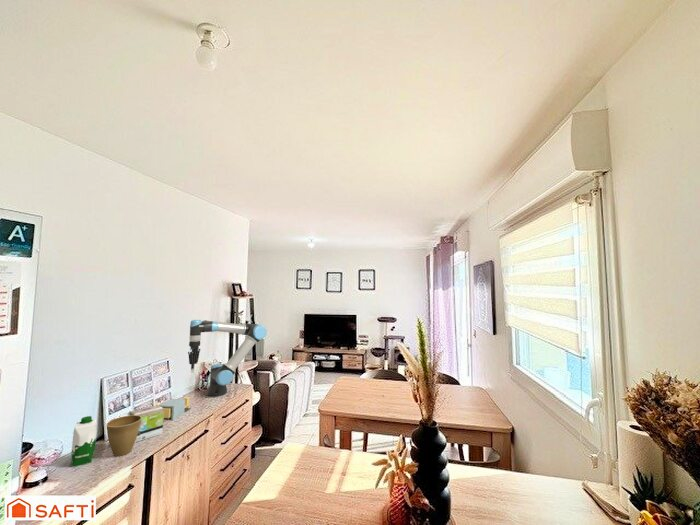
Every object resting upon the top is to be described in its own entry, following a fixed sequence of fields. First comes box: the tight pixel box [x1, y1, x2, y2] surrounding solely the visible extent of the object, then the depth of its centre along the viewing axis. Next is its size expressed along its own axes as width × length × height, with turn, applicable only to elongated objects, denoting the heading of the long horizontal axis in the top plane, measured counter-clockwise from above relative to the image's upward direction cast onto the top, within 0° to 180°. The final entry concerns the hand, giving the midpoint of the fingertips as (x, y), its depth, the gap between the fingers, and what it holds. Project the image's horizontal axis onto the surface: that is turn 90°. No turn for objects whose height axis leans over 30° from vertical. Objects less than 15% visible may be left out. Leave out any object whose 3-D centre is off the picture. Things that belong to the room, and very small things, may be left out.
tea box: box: [128, 404, 165, 443], centre depth 179 cm, size 15×10×15 cm, turn 143°
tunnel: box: [158, 398, 192, 423], centre depth 208 cm, size 33×10×9 cm, turn 176°
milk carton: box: [71, 415, 98, 468], centre depth 152 cm, size 9×9×20 cm
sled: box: [164, 396, 191, 419], centre depth 212 cm, size 24×6×6 cm, turn 176°
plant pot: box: [106, 415, 142, 457], centre depth 161 cm, size 15×15×16 cm
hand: (193, 372), depth 231 cm, fingers closed
